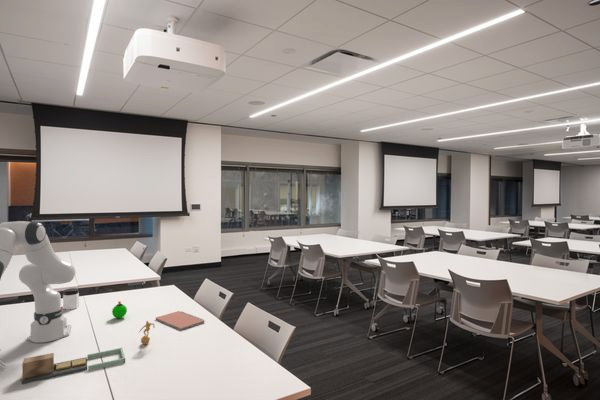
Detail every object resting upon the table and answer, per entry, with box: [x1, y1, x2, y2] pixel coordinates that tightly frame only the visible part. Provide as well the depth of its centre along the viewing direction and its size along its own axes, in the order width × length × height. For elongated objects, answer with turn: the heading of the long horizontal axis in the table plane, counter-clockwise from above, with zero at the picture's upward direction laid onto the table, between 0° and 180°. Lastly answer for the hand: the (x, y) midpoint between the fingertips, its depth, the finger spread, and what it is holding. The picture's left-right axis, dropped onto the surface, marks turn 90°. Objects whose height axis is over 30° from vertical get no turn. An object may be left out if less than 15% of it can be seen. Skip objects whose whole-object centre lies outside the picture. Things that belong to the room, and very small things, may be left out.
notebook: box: [155, 310, 205, 331], centre depth 213 cm, size 27×17×2 cm, turn 51°
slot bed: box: [21, 356, 88, 385], centre depth 150 cm, size 22×11×2 cm, turn 122°
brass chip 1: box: [56, 360, 71, 371], centre depth 152 cm, size 5×5×2 cm
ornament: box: [111, 300, 128, 319], centre depth 218 cm, size 8×8×10 cm
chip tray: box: [86, 347, 126, 371], centre depth 160 cm, size 14×13×3 cm
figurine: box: [138, 320, 155, 345], centre depth 180 cm, size 8×6×12 cm
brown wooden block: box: [21, 352, 55, 379], centre depth 147 cm, size 10×5×7 cm, turn 122°
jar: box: [62, 287, 80, 311], centre depth 237 cm, size 9×8×12 cm
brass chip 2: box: [72, 357, 86, 368], centre depth 155 cm, size 5×5×2 cm
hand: (4, 368), depth 141 cm, fingers closed
